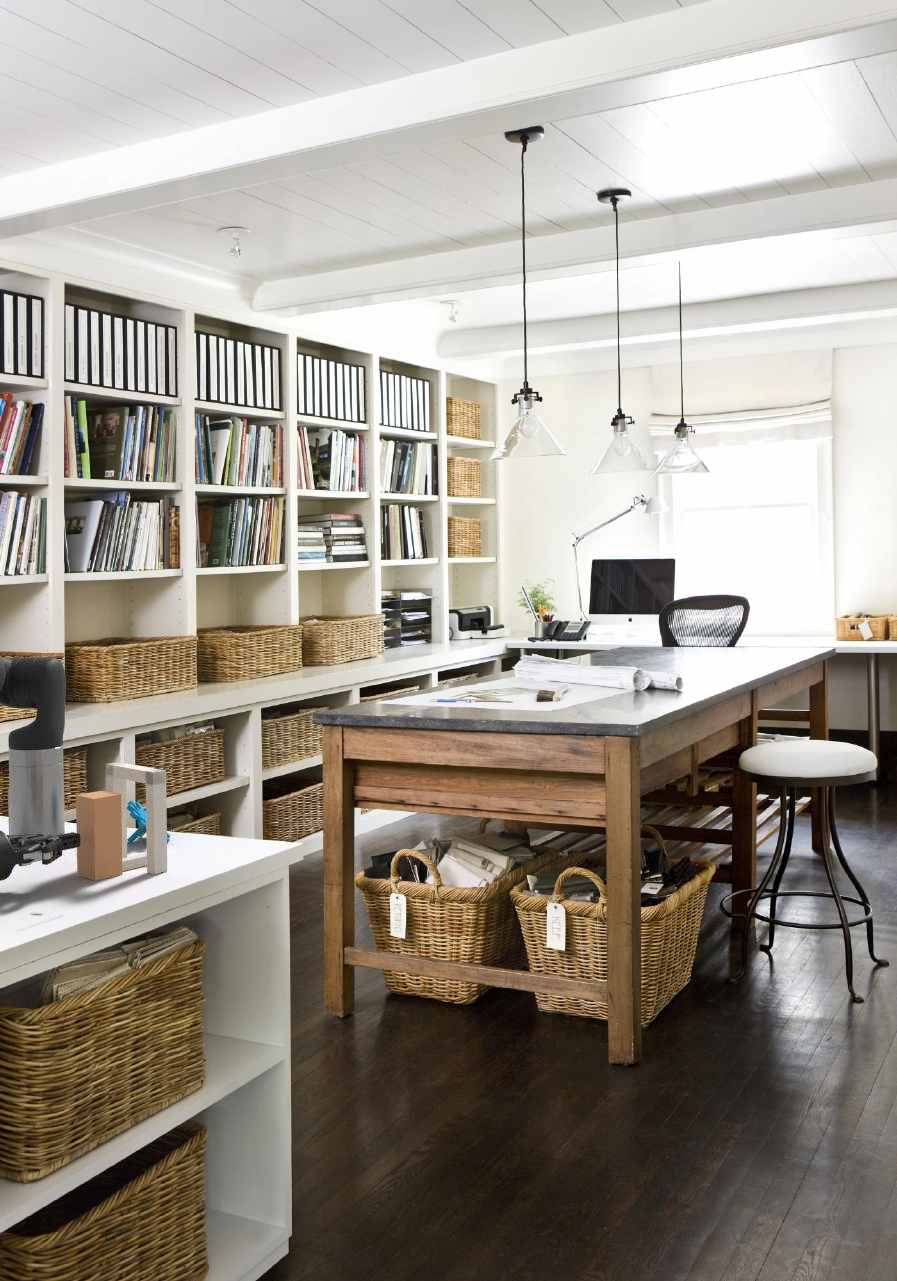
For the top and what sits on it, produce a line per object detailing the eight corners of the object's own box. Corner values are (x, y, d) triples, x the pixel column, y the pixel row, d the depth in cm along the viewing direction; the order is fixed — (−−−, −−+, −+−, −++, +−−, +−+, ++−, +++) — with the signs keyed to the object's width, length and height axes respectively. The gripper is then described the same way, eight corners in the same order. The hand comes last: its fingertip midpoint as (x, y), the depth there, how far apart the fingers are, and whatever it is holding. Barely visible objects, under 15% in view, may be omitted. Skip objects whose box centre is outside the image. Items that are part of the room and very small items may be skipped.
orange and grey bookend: (77, 875, 184) (75, 794, 183) (150, 858, 194) (149, 782, 194) (95, 880, 181) (93, 798, 180) (168, 863, 191) (167, 786, 191)
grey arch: (107, 861, 193) (105, 763, 192) (120, 858, 195) (118, 761, 194) (154, 874, 184) (153, 772, 183) (167, 871, 186) (166, 770, 185)
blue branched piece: (164, 840, 201) (125, 799, 201) (139, 864, 200) (100, 823, 201) (180, 835, 212) (143, 796, 212) (157, 857, 211) (120, 818, 212)
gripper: (-5, 842, 163) (101, 821, 176) (-51, 828, 171) (54, 809, 185) (-4, 894, 163) (102, 869, 177) (-50, 878, 172) (55, 855, 185)
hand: (77, 839), depth 181 cm, fingers closed
